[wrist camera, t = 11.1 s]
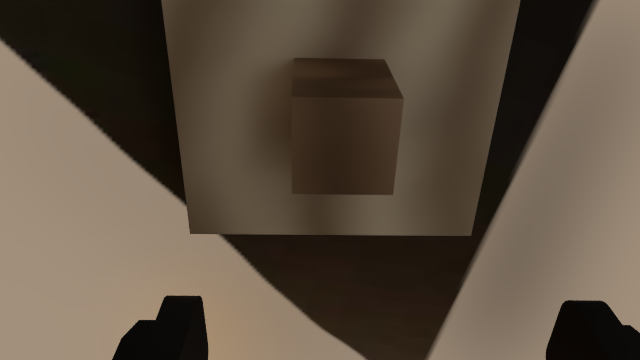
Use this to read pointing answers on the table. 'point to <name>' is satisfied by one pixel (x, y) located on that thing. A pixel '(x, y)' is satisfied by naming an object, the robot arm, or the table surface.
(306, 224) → the lid
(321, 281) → the table surface
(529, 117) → the table surface
